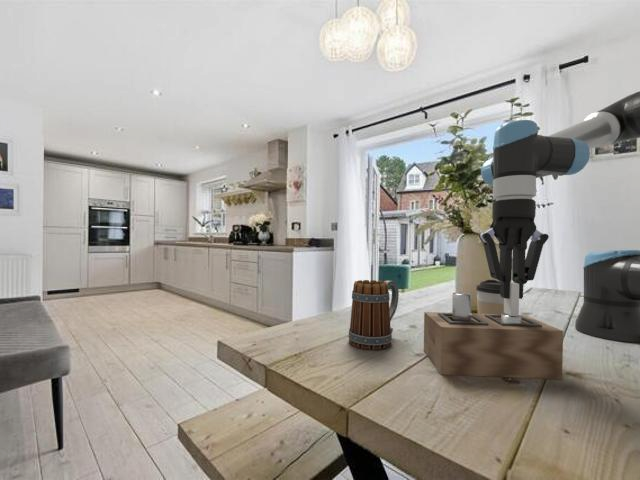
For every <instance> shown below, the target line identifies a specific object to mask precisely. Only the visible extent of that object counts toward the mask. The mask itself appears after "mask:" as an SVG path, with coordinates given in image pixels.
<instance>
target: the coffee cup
mask: <svg viewBox="0 0 640 480" xmlns="http://www.w3.org/2000/svg"><path fill="white" fill-rule="evenodd" d="M475 290H476V296H477V298H476V308H477V309H476V310H477V314H503V313H504V298H502V297H501V296H500V281H499V280H497V279H486V280H482V281H481V282H480V283H479V284H476V289H475Z"/></svg>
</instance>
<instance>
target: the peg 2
mask: <svg viewBox="0 0 640 480" xmlns="http://www.w3.org/2000/svg"><path fill="white" fill-rule="evenodd" d="M520 315H521V314H519V316H510V315H508V314H506V313H503V314H501V321H502V322H504V323H522V316H520Z"/></svg>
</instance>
